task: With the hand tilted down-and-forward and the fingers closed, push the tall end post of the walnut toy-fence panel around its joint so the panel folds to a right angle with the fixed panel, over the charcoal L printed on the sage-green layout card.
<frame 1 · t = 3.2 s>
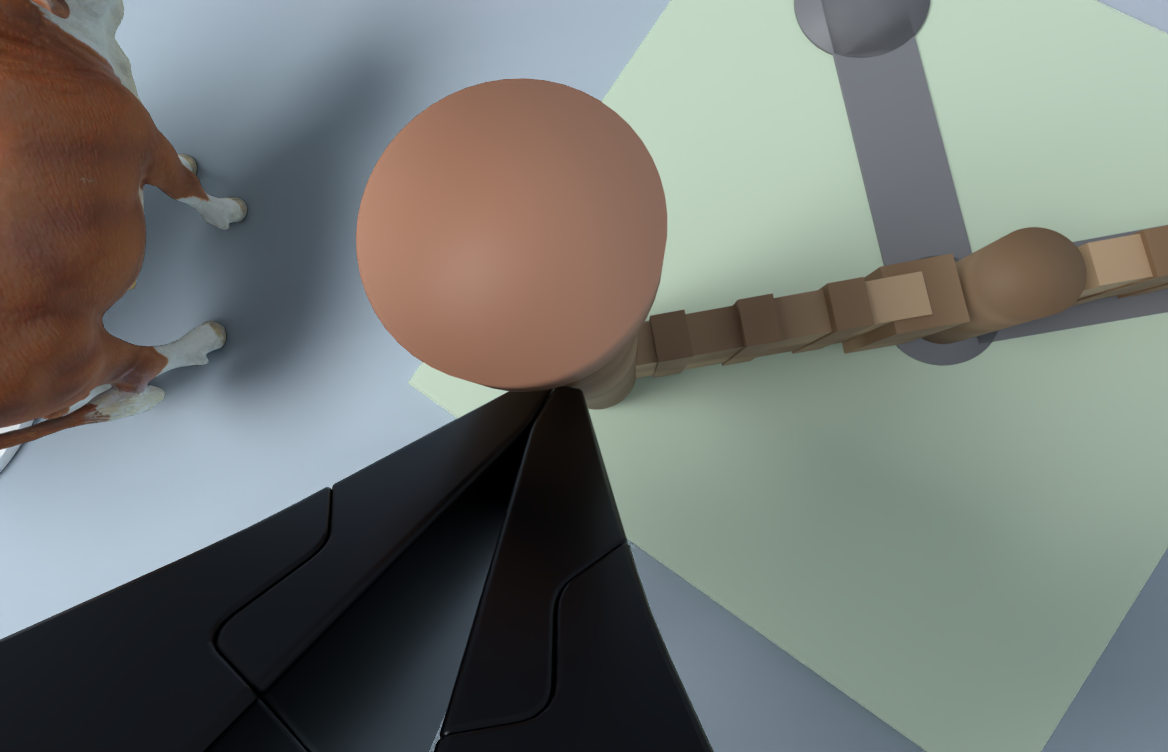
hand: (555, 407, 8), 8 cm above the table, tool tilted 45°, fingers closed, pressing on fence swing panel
fence fixed panel: (933, 312, 15), resting on layout card
bull figurine: (206, 253, 18), on the table
fence swing panel: (761, 301, 10), point 6 cm above the table, hinge at 0.0°, touching gripper
layout card: (872, 277, 16), on the table
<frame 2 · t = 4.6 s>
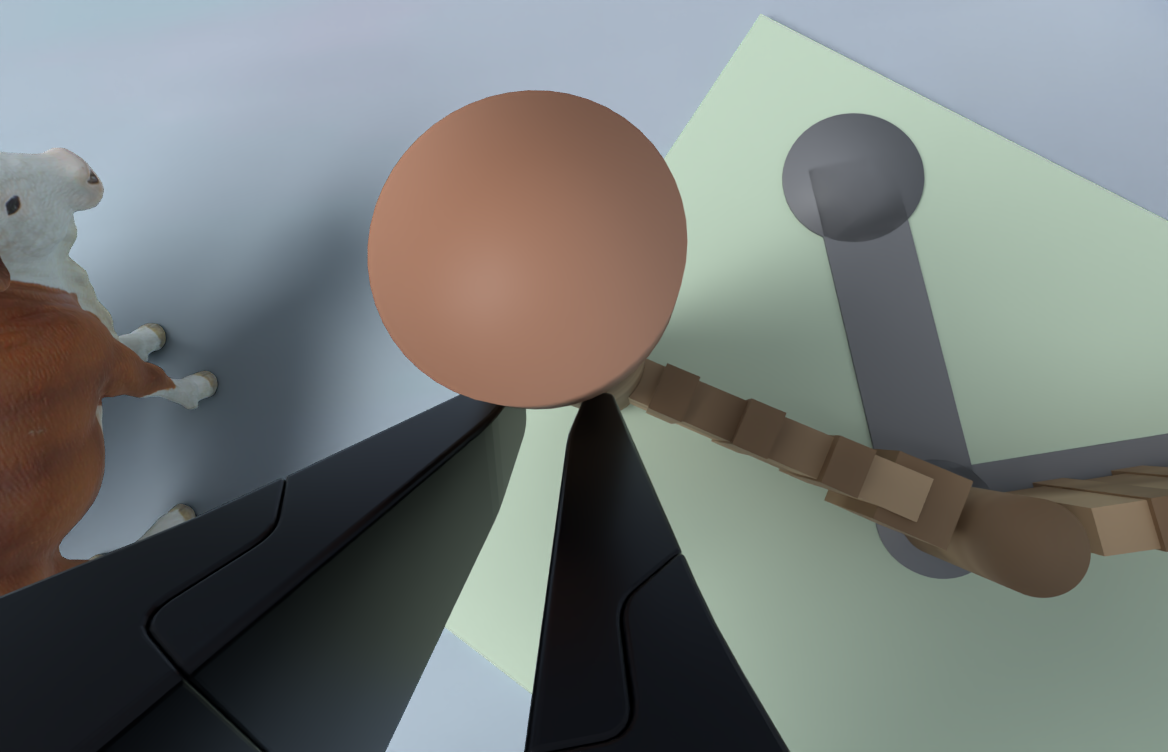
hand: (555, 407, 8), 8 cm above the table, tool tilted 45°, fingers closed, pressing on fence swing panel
fence fixed panel: (929, 516, 15), resting on layout card
bull figurine: (175, 427, 18), on the table
fence swing panel: (762, 418, 10), point 6 cm above the table, hinge at -33.7°, touching gripper
layout card: (865, 475, 15), on the table
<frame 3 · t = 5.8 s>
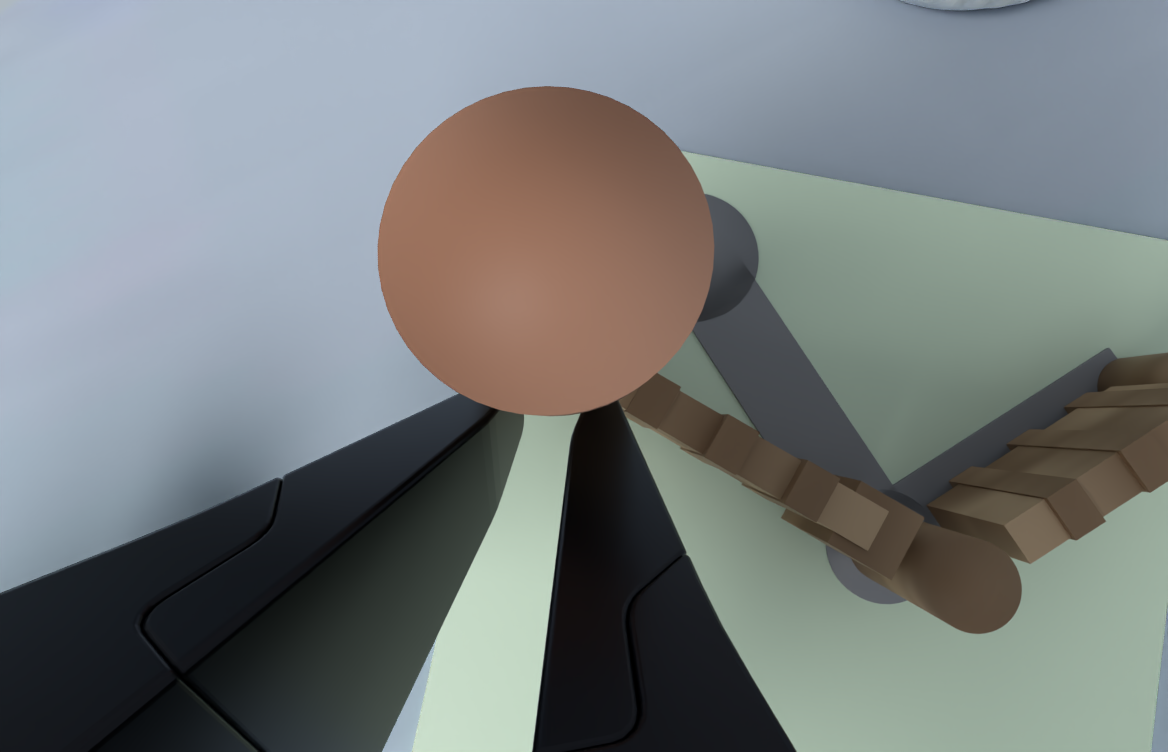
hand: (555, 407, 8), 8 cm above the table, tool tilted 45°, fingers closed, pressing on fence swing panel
fence fixed panel: (876, 543, 15), resting on layout card
fence swing panel: (739, 437, 10), point 6 cm above the table, hinge at -62.3°, touching gripper
layout card: (808, 528, 15), on the table
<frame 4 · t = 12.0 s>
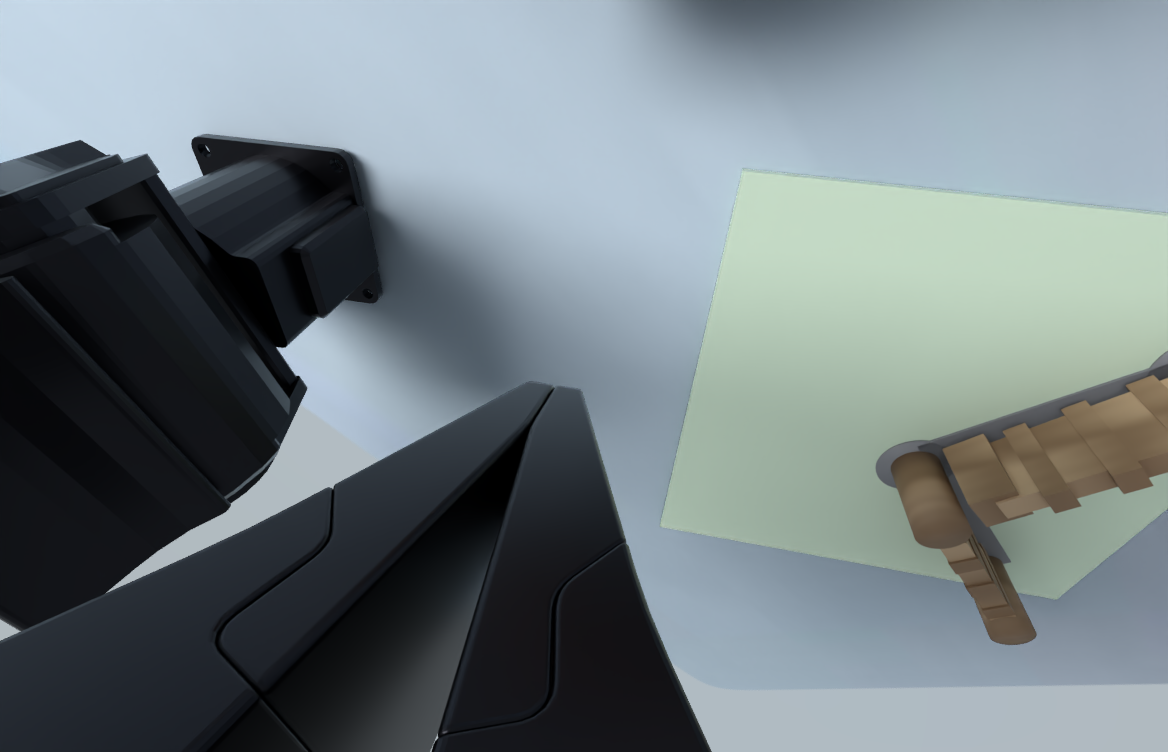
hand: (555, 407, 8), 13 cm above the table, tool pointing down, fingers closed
fence fixed panel: (912, 460, 24), resting on layout card
layout card: (933, 429, 23), on the table
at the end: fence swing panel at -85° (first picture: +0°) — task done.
